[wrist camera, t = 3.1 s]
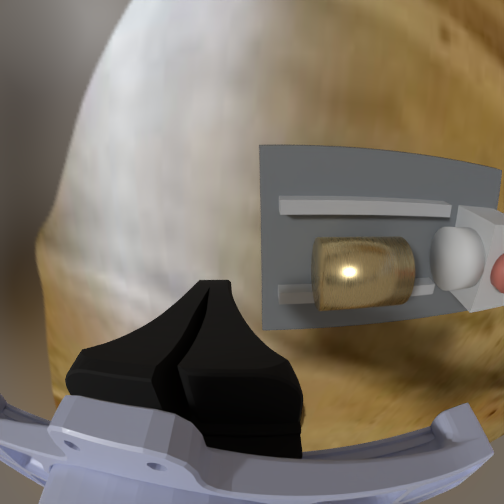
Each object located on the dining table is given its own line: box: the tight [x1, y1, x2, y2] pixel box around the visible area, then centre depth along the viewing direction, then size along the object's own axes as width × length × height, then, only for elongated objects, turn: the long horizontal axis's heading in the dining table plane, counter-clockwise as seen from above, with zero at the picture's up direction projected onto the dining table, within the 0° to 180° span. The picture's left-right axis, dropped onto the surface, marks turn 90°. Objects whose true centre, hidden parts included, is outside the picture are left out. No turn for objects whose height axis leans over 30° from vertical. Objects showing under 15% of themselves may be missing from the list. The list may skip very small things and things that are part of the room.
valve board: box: [259, 145, 504, 330], centre depth 15 cm, size 18×12×6 cm, turn 91°
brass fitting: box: [311, 236, 415, 311], centre depth 16 cm, size 5×4×4 cm
